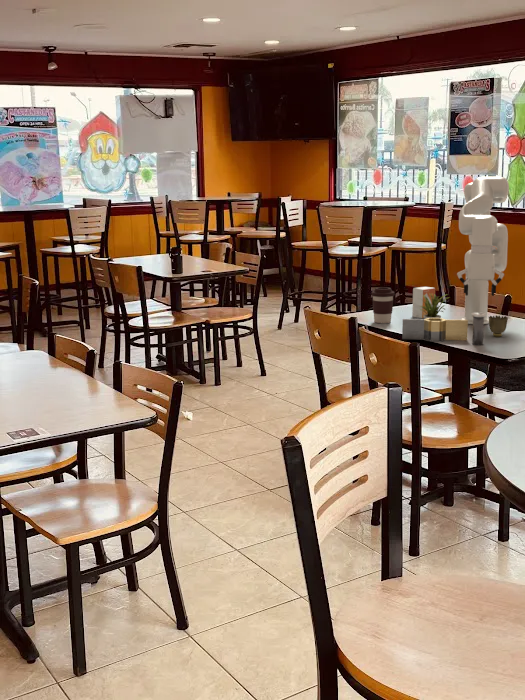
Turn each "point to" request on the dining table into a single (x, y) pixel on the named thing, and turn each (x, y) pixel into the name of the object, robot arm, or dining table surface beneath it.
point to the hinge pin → (478, 328)
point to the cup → (497, 325)
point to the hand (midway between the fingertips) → (479, 295)
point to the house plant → (433, 307)
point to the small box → (418, 302)
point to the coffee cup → (382, 304)
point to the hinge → (434, 329)
